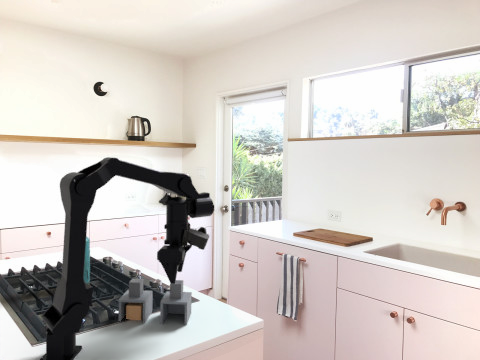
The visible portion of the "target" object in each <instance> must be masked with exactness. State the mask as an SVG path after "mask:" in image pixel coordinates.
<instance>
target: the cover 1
mask: <svg viewBox="0 0 480 360" xmlns="http://www.w3.org/2000/svg"><path fill="white" fill-rule="evenodd" d="M129 302H133V303H143V318H142V323H143V324H146V322H147V321H148V319H149V317H150V316H151V315H152V312H153V290H144V278H132V279H131V280H129V282H128V289H127V290H126V291H125V292H124V293H123V295H121V296H120V298H118V322H119V321H120V322H119V323H121V322H122V321H123V320H124V319H125V317H126V316H125V314H126V305H127V304H128V303H129ZM124 316H125V317H124ZM123 318H124V319H123ZM122 319H123V320H122ZM121 320H122V321H121Z"/></svg>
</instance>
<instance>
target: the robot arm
mask: <svg viewBox="0 0 480 360" xmlns="http://www.w3.org/2000/svg"><path fill="white" fill-rule="evenodd" d="M116 176H117V177H120V178H124V179H129V180H132V181H137V182H141V183H145V184H149V185H152V186H154V187H156V188H158V189H159V190H162V191H163V192H165V193H166V194H164V196H163V197H162V198H160V199H159V200H158V203H159V204H161V205H166V211H165V212H166V215H165V216H166V218H165V219H166V220H165V222H166V223H165V224H164V230H165V239H164V241H163V243H164V245H162V246H161V248H159V249H158V251H157V253H156V260H157V261H158V262H159V263H160V264H161V266H162V268H163V270H164V272H165V275H166V276H167V278H168V281H169V284H170V283H171V284H175V281H176V280H177V275H178V273H181V272H183V267H184V264H185V263H184V262H185V259H186V255H187V252H188V251H190V250H191V248H192V247H193V246H194V247H197V248H198V249H199V250H205V249H206V246H207V244H208V241H209V239H210V235H209V234H210V233H207V228H206V227H203V226H200V228H198V229H196V228H195V229H194V228H191V223H190V222H189V217H190V218H191V219H196V218H204V217H206V218H207V217H211V216H212V215H213V214H214V211H215V204H214V201H213V200H212V198H211V196H210V195H211V194H210V192H205V191H204V192H200V193H199V192H198V191H197V189H196V188H195V186H194V183H193V180H192V177H191V176H190V175H189V174H188V173H182V172H175V171H174V172H173V171H162V170H161V171H160V170H156V169H154V168H149V167H146V166H143V165H138V164H136V163H132V162H128V161H124V160H122V159H119V158H118V157H104V158H102V159H101V160H100V161H98V162H95V163H94V164H91V165H90V166H87V167H85V168H83V169H81V170H79V171H78V172H76V171H75V172H69V173H66V174H64V175H63V177H62V178H61V179H60V181H59V190H60V191H59V192H60V199H61V202H62V203H61V204H62V206H63V210H64V213H65V215H64V217H65V218H64V233H63V249H62V250H63V251H62V265H61V267H62V268H61V277H60V279H59V282H58V284H57V286H56V287H55V292H54V296H53V300H52V303H51V304H50V306H49V307H48V308H47V309H46V310H45V311H44V312H43V314H42V315H41V320H42V322H43V324H44V325H45V326H46V327H47V328H46V331H45V332H46V333H45V349H46V350H45V351H46V352H45V353H44V354H43V355H42V356H41V357H40V358H39V360H74V359H75V357H76V356H77V355H78V354H79V353H80V351H81V350H83V345H78V344H77V341H76V340H77V339H76V338H77V336H76V335H77V333H79V332H80V330H81V326H82V323H83V321H84V319H85V318H86V317H88V315H89V313H90V310H91V309H90V307H93V306H94V305H93V302H92V301H93V299H92V298H93V295H94V287H92V286H91V285H89V283H86V282H85V281H84V266H85V250H86V236H87V229H88V217H89V213H90V211H91V209H92V207H93V205H94V202H95V199H96V195H97V192H98V190H99V189H101V188H102V187H104V186H105V185H107V183H109V182H110V181H111V180H112V179H113V178H114V177H116ZM167 193H168V194H167ZM170 194H172V195H176V196H171V195H170ZM183 198H184V199H183Z"/></svg>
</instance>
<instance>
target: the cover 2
mask: <svg viewBox="0 0 480 360" xmlns="http://www.w3.org/2000/svg"><path fill="white" fill-rule="evenodd" d="M192 295H193V294H192V292H190V291H184V280H180V279H176V281H175V284H171V283H170V282H169V291H168V290H167V291H166V292H165V293H164V295H163V297H162V298H161V300H160V305H159V307H160V309H159V310H160V313H159V318H160V319H159V322H160V323H159V324H160V325H162V324H163V323H164V322H165V319H166V318H167V317H168V314H177V315H178V314H182V315H184V326H185V325H188V323H189V321H190V318H191V314H192V297H193V296H192Z"/></svg>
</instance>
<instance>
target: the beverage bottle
mask: <svg viewBox="0 0 480 360" xmlns="http://www.w3.org/2000/svg"><path fill="white" fill-rule="evenodd" d="M90 248H91V247H90V238H89V237H88V236H87V235H86V250H85V266H84V281H85V282H86V283H87V284H89V283H90V281H91V258H90V257H91V249H90Z"/></svg>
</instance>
